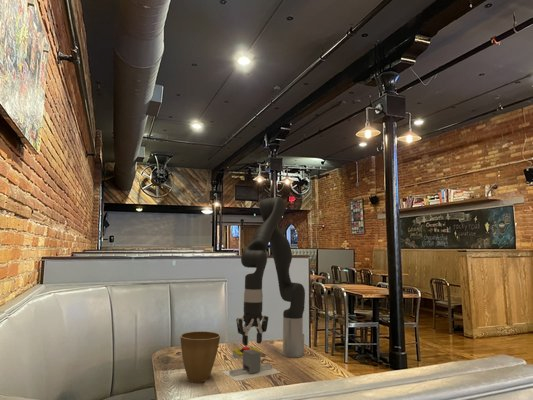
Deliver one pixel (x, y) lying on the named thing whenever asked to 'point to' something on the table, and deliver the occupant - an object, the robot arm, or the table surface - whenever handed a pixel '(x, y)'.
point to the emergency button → (241, 352)
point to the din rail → (246, 370)
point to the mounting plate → (251, 374)
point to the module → (252, 360)
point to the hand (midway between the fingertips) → (252, 344)
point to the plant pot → (199, 354)
